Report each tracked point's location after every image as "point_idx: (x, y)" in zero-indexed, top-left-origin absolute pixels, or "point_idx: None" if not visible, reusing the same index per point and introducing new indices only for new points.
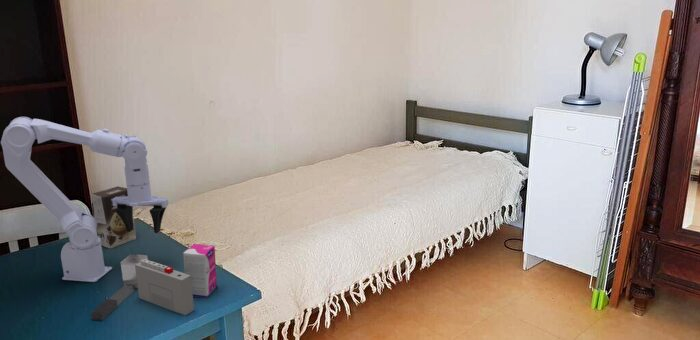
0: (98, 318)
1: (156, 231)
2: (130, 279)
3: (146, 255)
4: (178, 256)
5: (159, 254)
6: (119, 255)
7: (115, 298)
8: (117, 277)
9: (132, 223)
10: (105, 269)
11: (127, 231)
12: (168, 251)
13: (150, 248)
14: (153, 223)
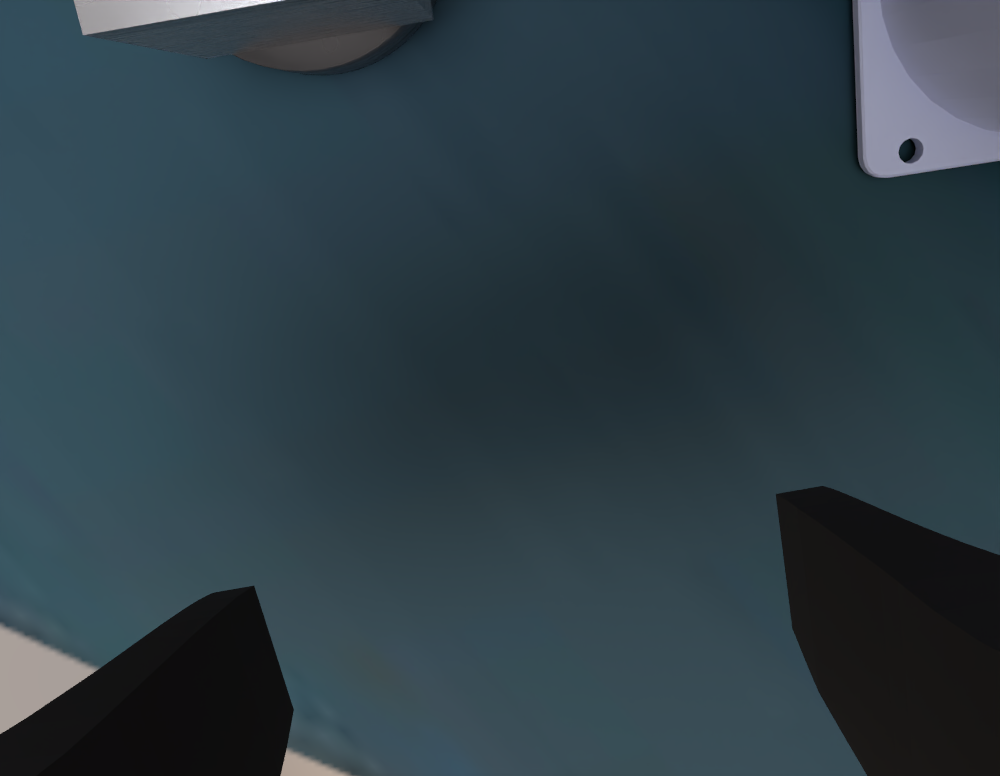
0: None
1: (196, 604)
2: None
3: (89, 24)
4: (338, 637)
5: (563, 624)
6: (990, 491)
7: None
8: (660, 3)
9: (840, 704)
10: (911, 89)
11: (833, 493)
12: (516, 704)
13: (749, 714)
14: (127, 687)
